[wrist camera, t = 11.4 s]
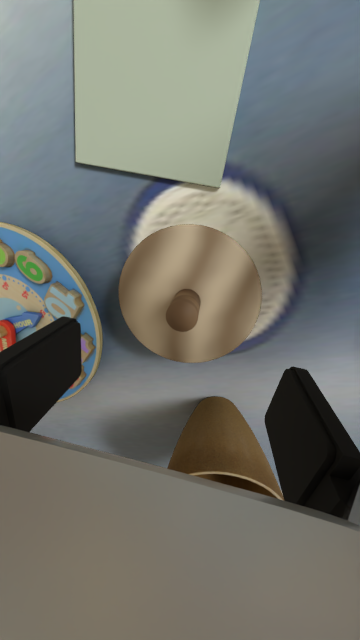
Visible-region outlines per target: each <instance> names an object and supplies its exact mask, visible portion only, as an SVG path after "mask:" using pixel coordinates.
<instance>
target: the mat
mask: <svg viewBox="0 0 360 640" xmlns="http://www.w3.org/2000/svg"><path fill="white" fill-rule="evenodd" d="M259 2H260V0H74V66H75V141H76V162H77V163H81V164H86V165H92V166H97V167H103V168H109V169H114V170H120V171H126V172H131V173H137V174H142V175H148V176H154V177H159V178H165V179H171V180H176V181H182V182H187V183H193V184H199V185H204V186H210V187H215V188H220V185H221V180H222V175H223V171H224V166H225V161H226V157H227V152H228V147H229V143H230V138H231V133H232V129H233V124H234V119H235V115H236V110H237V105H238V100H239V96H240V91H241V86H242V82H243V77H244V72H245V68H246V63H247V58H248V54H249V49H250V44H251V40H252V35H253V30H254V25H255V21H256V16H257V11H258V7H259Z"/></svg>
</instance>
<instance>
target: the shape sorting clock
mask: <svg viewBox="0 0 360 640" xmlns="http://www.w3.org/2000/svg"><path fill="white" fill-rule="evenodd" d="M62 316H65V317H70V318H74V319H76V320H77V321H78V323H80V326H81V361H82V372H81V375H80V377H79V378H78V379H77V380H76V381H75V383H74V384H73V385H72V386H71V387H70V388H69V389H68V390H67V391H66V392H65V393H64V394H63V396H62V397H61V398H60V399H59V400H58V401H57V402H60V401H63V400H66V399H68V398H71V397H72V396H74V395H76V394H77V393H78V392H80V391H81V390H82V389H83V388H84V387H85V386H86V385H87V384H88V383H89V382H90V380H91V379H92V378H93V376H94V375H95V373H96V371H97V368H98V366H99V363H100V359H101V353H102V328H101V322H100V318H99V315H98V312H97V307H96V306H95V304H94V301H93V299H92V296H91V294H90V292H89V290H88V288H87V286H86V285H85V283H84V281H83V280H82V278H81V277H80V275H79V274H78V273H77V271H76V270H75V269H74V268H73V266H72V265H71V264H70V263H69V262H68V261H67V260H66V259H65V257H64V256H63V255H62V254H61V253H60V252H58V251H57V250H56V249H55V248H54V247H53V246H51V245H50V244H49V243H48V242H46V241H45V240H43V239H42V238H40V237H39V236H37V235H35V234H33V233H32V232H30V231H27V230H25V229H23V228H21V227H18V226H15V225H11V224H8V223H3V222H0V352H1V351H2V350H4V349H6V348H8V347H9V346H11V345H13V344H15V343H16V342H18V341H20V340H22V339H23V338H25V337H27V336H29V335H30V334H32V333H34V332H36V331H37V330H39V329H41V328H43V327H44V326H46V325H48V324H50V323H51V322H53V321H55V320H57V319H58V318H60V317H62Z"/></svg>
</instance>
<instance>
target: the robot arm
mask: <svg viewBox="0 0 360 640" xmlns="http://www.w3.org/2000/svg"><path fill="white" fill-rule="evenodd" d="M81 372H82V361H81V326H80V323H78V321H77V320H76V319H74V318H70V317H65V316H62V317H60V318H58V319H57V320H55V321H53V322H51V323H50V324H48V325H46V326H44V327H43V328H41V329H39V330H37V331H36V332H34V333H32V334H30V335H29V336H27V337H25V338H23V339H22V340H20V341H18V342H16V343H15V344H13V345H11V346H9V347H8V348H6V349H4V350H2V351H1V352H0V640H360V452H359V450H358V449H357V447H356V446H355V444H354V442H353V441H352V439H351V438H350V436H349V435H348V433H347V431H346V430H345V428H344V427H343V425H342V424H341V422H340V421H339V419H338V417H337V416H336V414H335V413H334V411H333V410H332V408H331V406H330V405H329V403H328V402H327V400H326V399H325V397H324V396H323V394H322V392H321V391H320V389H319V388H318V386H317V385H316V383H315V381H314V380H313V378H312V377H311V375H310V374H309V372H308V371H307V370H305V369H301V368H296V367H291V368H290V369H286V370H285V371H284V373H283V375H282V378H281V380H280V382H279V385H278V387H277V389H276V391H275V394H274V396H273V398H272V401H271V403H270V405H269V407H268V410H267V412H266V415H265V425H266V429H267V433H268V437H269V441H270V445H271V449H272V453H273V457H274V461H275V465H276V469H277V473H278V477H279V481H280V485H281V489H282V493H283V497H284V501H283V500H280V499H276V498H273V497H270V496H266V495H263V494H259V493H255V492H252V491H248V490H244V489H241V488H237V487H233V486H229V485H226V484H222V483H218V482H215V481H211V480H207V479H204V478H200V477H196V476H193V475H189V474H185V473H182V472H178V471H174V470H170V469H167V468H163V467H159V466H155V465H152V464H148V463H144V462H140V461H137V460H133V459H129V458H125V457H122V456H118V455H114V454H110V453H107V452H103V451H99V450H95V449H91V448H88V447H84V446H80V445H76V444H72V443H68V442H64V441H61V440H57V439H53V438H49V437H45V436H41V435H37V434H34V433H30V430H31V429H32V428H33V427H34V426H35V425H36V424H37V423H38V422H39V421H40V420H41V418H42V417H43V416H44V415H45V414H46V413H47V412H48V411H49V410H50V409H51V408H52V406H53V405H54V404H55V403H56V402H57V401H58V400H59V399H60V398H61V397H62V396H63V394H64V393H65V392H66V391H67V390H68V389H69V388H70V387H71V386H72V385H73V384H74V383H75V381H76V380H77V379H78V378H79V377H80V375H81Z"/></svg>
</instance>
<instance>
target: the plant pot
mask: <svg viewBox="0 0 360 640" xmlns="http://www.w3.org/2000/svg"><path fill="white" fill-rule="evenodd" d="M167 469H170V470H174V471H178V472H182V473H185V474H189V475H193V476H196V477H200V478H204V479H207V480H211V481H215V482H218V483H222V484H226V485H229V486H233V487H237V488H241V489H244V490H248V491H252V492H255V493H259V494H263V495H266V496H270V497H273V498H276V499H280V500H283V501H284V498H283V495H282V493H281V490H280V488H279V486H278V483H277V481H276V479H275V476H274V474H273V472H272V469H271V467H270V465H269V463H268V461H267V458H266V456H265V454H264V452H263V450H262V448H261V447H260V445H259V443H258V441H257V439H256V437H255V435H254V434H253V432H252V430H251V428H250V427H249V425H248V424H247V422H246V420H245V419H244V417H243V416H242V415H241V413H240V412H239V410H238V409H237V408H236V406H235V405H234V404H233V403H232V402H231V401H229V400H228V399H226V398H223V397H208V398H206V399H204V400H202V401H201V402H200V403H199V404H198V406H197V407H196V408H195V410H194V412H193V413H192V415H191V416H190V418H189V420H188V422H187V424H186V425H185V427H184V429H183V431H182V434H181V436H180V438H179V440H178V442H177V445H176V447H175V449H174V452H173V455H172V457H171V460H170V463H169V465H168V468H167Z"/></svg>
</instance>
